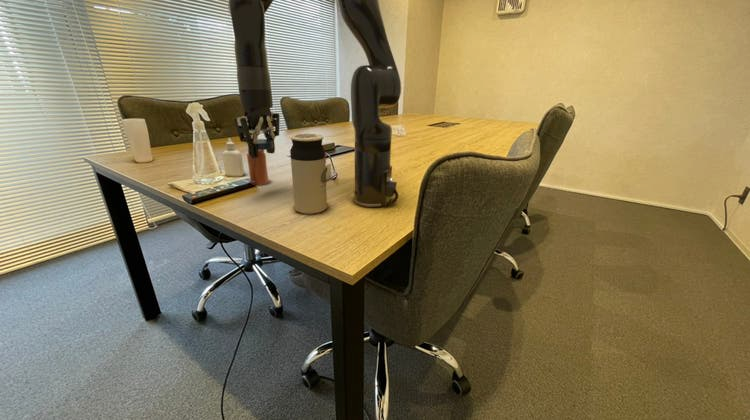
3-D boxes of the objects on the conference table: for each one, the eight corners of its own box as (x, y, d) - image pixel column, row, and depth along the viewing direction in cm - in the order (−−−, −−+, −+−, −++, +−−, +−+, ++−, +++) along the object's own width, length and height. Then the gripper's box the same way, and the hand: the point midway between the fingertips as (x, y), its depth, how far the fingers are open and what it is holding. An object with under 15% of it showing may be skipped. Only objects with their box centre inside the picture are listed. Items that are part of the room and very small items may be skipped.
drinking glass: (128, 162, 110) (115, 120, 104) (144, 158, 116) (133, 118, 110) (144, 164, 109) (133, 121, 103) (160, 159, 115) (149, 118, 109)
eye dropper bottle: (235, 178, 97) (229, 140, 92) (223, 175, 100) (217, 138, 95) (246, 175, 101) (241, 138, 96) (235, 172, 103) (229, 136, 98)
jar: (271, 181, 96) (268, 148, 91) (262, 186, 91) (257, 151, 87) (257, 179, 97) (253, 146, 93) (247, 184, 92) (242, 150, 88)
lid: (245, 147, 79) (244, 141, 78) (263, 144, 83) (262, 138, 83) (260, 150, 76) (259, 144, 76) (277, 147, 81) (277, 141, 80)
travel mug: (288, 211, 74) (281, 137, 67) (306, 200, 81) (302, 132, 74) (316, 217, 72) (312, 140, 65) (332, 205, 79) (330, 135, 71)
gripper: (262, 86, 81) (269, 148, 88) (219, 87, 69) (231, 159, 76) (286, 87, 79) (291, 151, 86) (245, 88, 67) (255, 163, 73)
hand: (262, 155), depth 81 cm, fingers closed on lid, 5 cm apart
